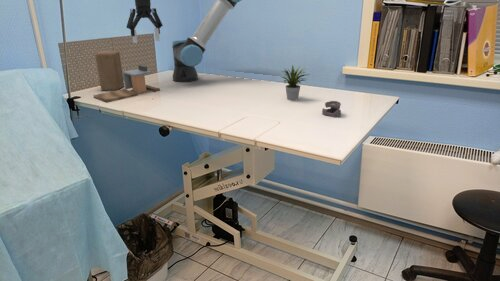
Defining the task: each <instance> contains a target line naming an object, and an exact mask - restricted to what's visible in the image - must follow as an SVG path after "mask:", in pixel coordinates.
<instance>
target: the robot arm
mask: <svg viewBox="0 0 500 281" xmlns="http://www.w3.org/2000/svg"><path fill="white" fill-rule="evenodd" d="M241 1H242V0H215V1H214V3H213V5H211V8H210V9H209V10H208V11H207V14H206V15H205V16H204V17H203V19H202V21H201V23H199V25H198V27H197V28H196V30H195V32H194V33H193V35H191V36H188V37H187V39H180V40H179V39H178V40H174V41H172V46H171V48H172V54H173V55H172V56H173V65H174V68H173V73H172V81H174V82H178V83H179V82H180V83H182V82H184V83H185V82H186V83H187V82H193V81H196V80H199V74H198V72H197V70H196V66H198V65H199V64H200V63H201V62H202V61H203V58H204V54H205V51H206V50H207V48H206V45H207V43H208V42H209V40H210V39H211V38H212V36H213V34H215V32H216V30H217V29H218V27H219V25H220V24H221V23H222V21H223V20H224V18H225V16H226V15H227V14H228V12H229V11H230V10H233V9H234V8H235V6H236V5H238V4H237V3H239V2H241ZM134 3H135V4H134V5H135V8H130V9H129V10H130V11H129V12H130V13H129V17H128V21H127V23H126V29H129V30H130V36H131V37H132V43H133V44H137V43H138V34H137V29H136V27H137V25H138V24H139V22H140V21H141V19H144V18H146V19H149V21H150V22H151V23H152V25H153V26H154V40H155V41H158V42H161V41H160V40H161V39H160V34H161V30H160V29H161V28H162V27H163V26H164V25H163V23H162V20H161V18H160V17H159V14H158V13H157V8H155V7H154V8H153V7H152V8H151V5H152V3H151V0H134Z"/></svg>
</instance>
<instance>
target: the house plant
mask: <svg viewBox="0 0 500 281" xmlns="http://www.w3.org/2000/svg"><path fill="white" fill-rule="evenodd" d="M300 68H301V66H299V67H298V68H297V69H296V70H295V67H294V65H293V64H292V65H291V71H290V70H288V69H287V68H284V70H281V71H282V72H283V74H284V76H281V78H282V79H284V80H283V84H286V83H287V84H286V85H285V93H286V94H285V95H286V99H287V100H288V101H298V100H299V96H300V91H301V85H299V84H301V82H303V81H306V82H307V78H305V77H304V76H309V75H310V74H306V73H307V71H305V69H306V68H302V69H301V70H300V71H299V69H300ZM303 70H304V71H303ZM304 73H305V74H304ZM285 76H286V77H285ZM303 77H304V78H303Z"/></svg>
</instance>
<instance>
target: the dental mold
mask: <svg viewBox="0 0 500 281" xmlns="http://www.w3.org/2000/svg"><path fill="white" fill-rule="evenodd" d="M341 105H342V104H341V102H340V101H338V100H329V101H326V102H324V106H325V107H324V108H322V110H321V111H322V113H321V115H322V116H325V117H328V118H329V117H330V118H342V117H341V116H342V111H341Z"/></svg>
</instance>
